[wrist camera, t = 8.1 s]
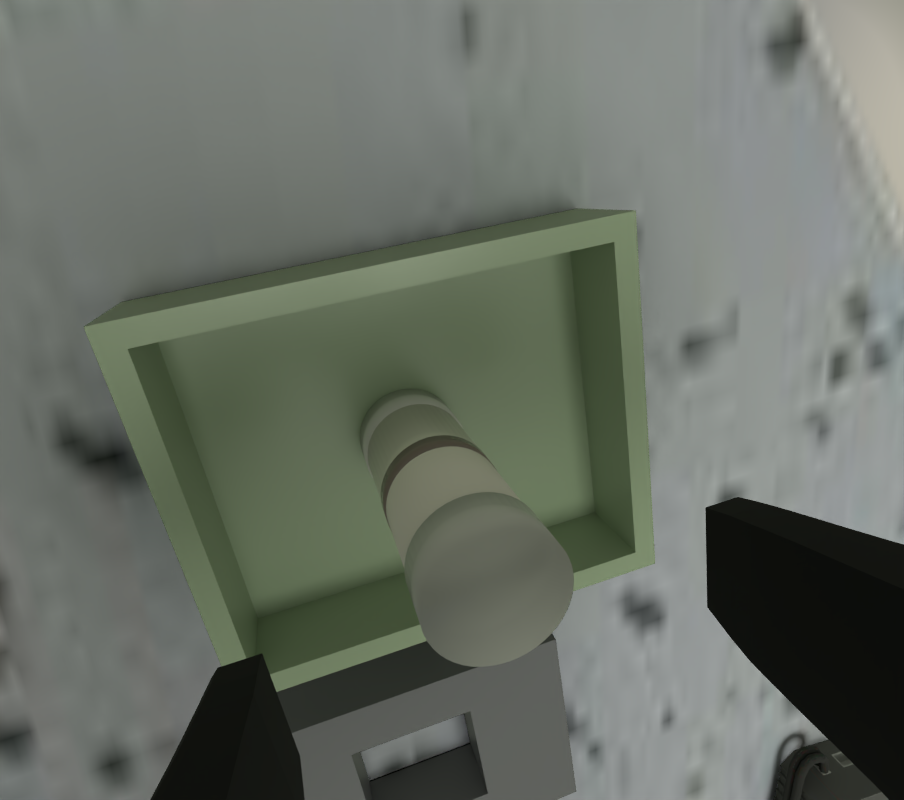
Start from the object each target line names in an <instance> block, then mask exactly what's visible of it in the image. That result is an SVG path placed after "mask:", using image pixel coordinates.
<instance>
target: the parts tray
mask: <svg viewBox="0 0 904 800" xmlns="http://www.w3.org/2000/svg"><path fill="white" fill-rule="evenodd" d="M84 329H85V332H86V334H87V337H88V339H89V342H90V344H91V346H92V349H93V351H94V354H95V356H96V359H97V361H98V364H99V366H100V369H101V371H102V373H103V376H104V378H105V381H106V383H107V386H108V388H109V391H110V393H111V396H112V398H113V401H114V403H115V405H116V408H117V410H118V413H119V415H120V418H121V420H122V423H123V425H124V428H125V430H126V432H127V435H128V437H129V440H130V442H131V445H132V447H133V450H134V452H135V455H136V457H137V460H138V462H139V464H140V467H141V469H142V472H143V474H144V477H145V479H146V482H147V484H148V487H149V489H150V492H151V494H152V496H153V499H154V501H155V504H156V506H157V509H158V511H159V514H160V516H161V519H162V521H163V523H164V526H165V528H166V531H167V533H168V536H169V538H170V541H171V543H172V546H173V548H174V551H175V553H176V555H177V558H178V560H179V563H180V565H181V568H182V570H183V573H184V575H185V578H186V580H187V582H188V585H189V587H190V590H191V592H192V595H193V597H194V600H195V602H196V605H197V607H198V610H199V612H200V614H201V617H202V619H203V622H204V624H205V627H206V629H207V632H208V634H209V637H210V639H211V642H212V644H213V646H214V649H215V651H216V654H217V656H218V659H219V661H220V664H221V666H225V665H228V664H231V663H234V662H237V661H240V660H243V659H246V658H249V657H252V656H255V655H258V654H261V653H262V654H263V657H264V660H265V662H266V665H267V668H268V670H269V673H270V676H271V679H272V681H273V684H274V687H275V689H276V692H278V691H281V690H284V689H287V688H290V687H293V686H296V685H299V684H302V683H305V682H307V681H310V680H313V679H316V678H319V677H322V676H325V675H328V674H331V673H334V672H337V671H340V670H343V669H346V668H349V667H352V666H355V665H357V664H360V663H363V662H366V661H369V660H372V659H375V658H378V657H381V656H384V655H387V654H390V653H393V652H396V651H399V650H402V649H405V648H407V647H410V646H413V645H416V644H419V643H422V642H425V641H427V640H426V638H425V636H424V634H423V632H422V629H421V626H420V623H419V620H418V617H417V614H416V611H415V608H414V605H413V602H412V599H411V596H410V593H409V590H408V587H407V584H406V580H405V574H404V567H403V564H402V561H401V558H400V555H399V552H398V549H397V546H396V543H395V540H394V537H393V534H392V532H391V530H390V528H389V526H388V523H387V520H386V517H385V514H384V511H383V508H382V503H381V499H380V496H379V493H378V490H377V488H376V485H375V482H374V479H373V478H372V476H371V474H370V472H369V470H368V467H367V464H366V461H365V458H364V455H363V452H362V449H361V445H360V429H361V425H362V422H363V419H364V417H365V415H366V413H367V412H368V410H369V409H370V408H371V407H372V406H373V404H374V403H375V402H377V401H378V400H379V399H380V398H382V397H383V396H385V395H387V394H389V393H391V392H394V391H397V390H401V389H409V388H413V389H421V390H425V391H428V392H430V393H432V394H434V395H436V396H437V397H439V398H440V399H441V400H442V401H443V402H444V403H445V404H446V406H447V407H448V408H449V409H450V411H451V412H452V413H453V414H454V415H455V417H456V418H457V419H458V420H459V422H460V423H461V425H462V427H463V430H464V431H465V432H466V433H467V434H468V436H469V437H470V438H471V439H472V441H473V442H474V443H475V444H476V446H477V447H478V448H479V449H480V450H482V452H483V453H484V454H485V455H486V457H487V458H488V459H489V460H490V462H491V463H492V464H493V465H494V467H495V468H496V470H497V472H498V473H499V474H500V475H501V477H502V478H503V479H504V480H505V482H506V483H507V484H508V485H509V487H510V488H511V489H512V490H513V492H514V493H515V494H516V495H517V496H518V498H519V499H520V500H521V501H522V502H523V503H525V504H526V505H527V506H528V507H529V508H530V509H531V510H532V511H533V512H534V513H535V514H536V516H537V517H538V518H539V519H540V521H541V522H542V523H543V524H544V525H545V527H546V528H547V529H548V530H549V532H550V533H551V534H552V535H553V536H554V538H555V539H556V540H557V541H558V543H559V544H560V545H561V546H562V547H563V549H564V550H565V551H566V553H567V555H568V557H569V559H570V562H571V564H572V569H573V574H574V587H573V591H575V590H578V589H581V588H584V587H587V586H590V585H593V584H596V583H599V582H602V581H605V580H608V579H610V578H613V577H616V576H619V575H622V574H625V573H628V572H631V571H634V570H637V569H640V568H643V567H646V566H649V565H652V564H655V554H654V535H653V517H652V499H651V481H650V463H649V444H648V426H647V408H646V390H645V371H644V353H643V335H642V317H641V299H640V280H639V262H638V244H637V226H636V211H634V210H603V209H573V210H568V211H563V212H558V213H553V214H548V215H543V216H539V217H534V218H529V219H524V220H519V221H514V222H509V223H504V224H500V225H495V226H490V227H485V228H480V229H475V230H470V231H466V232H461V233H456V234H451V235H446V236H441V237H436V238H431V239H427V240H422V241H417V242H412V243H407V244H402V245H397V246H393V247H388V248H383V249H378V250H373V251H368V252H363V253H358V254H354V255H349V256H344V257H339V258H334V259H329V260H324V261H320V262H315V263H310V264H305V265H300V266H295V267H290V268H285V269H281V270H276V271H271V272H266V273H261V274H256V275H251V276H247V277H242V278H237V279H232V280H227V281H222V282H217V283H212V284H208V285H203V286H198V287H193V288H188V289H183V290H178V291H174V292H169V293H164V294H159V295H154V296H149V297H144V298H139V299H135V300H130V301H125V302H121V303H119V304H118V305H116V306H115V307H113V308H112V309H110V310H109V311H107V312H106V313H104V314H102V315H101V316H99V317H98V318H96V319H95V320H93V321H92V322H90V323H89V324H87V325H85V326H84Z"/></svg>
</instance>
